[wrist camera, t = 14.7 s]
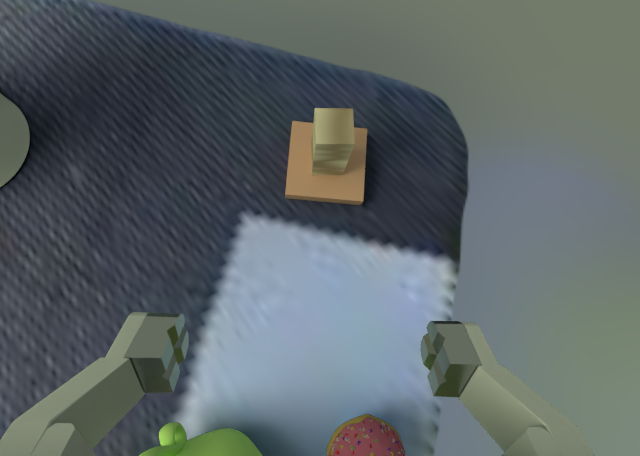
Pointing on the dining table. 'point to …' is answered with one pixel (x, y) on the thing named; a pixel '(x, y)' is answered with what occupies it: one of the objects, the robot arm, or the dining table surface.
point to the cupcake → (365, 438)
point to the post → (331, 140)
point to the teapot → (202, 443)
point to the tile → (324, 186)
